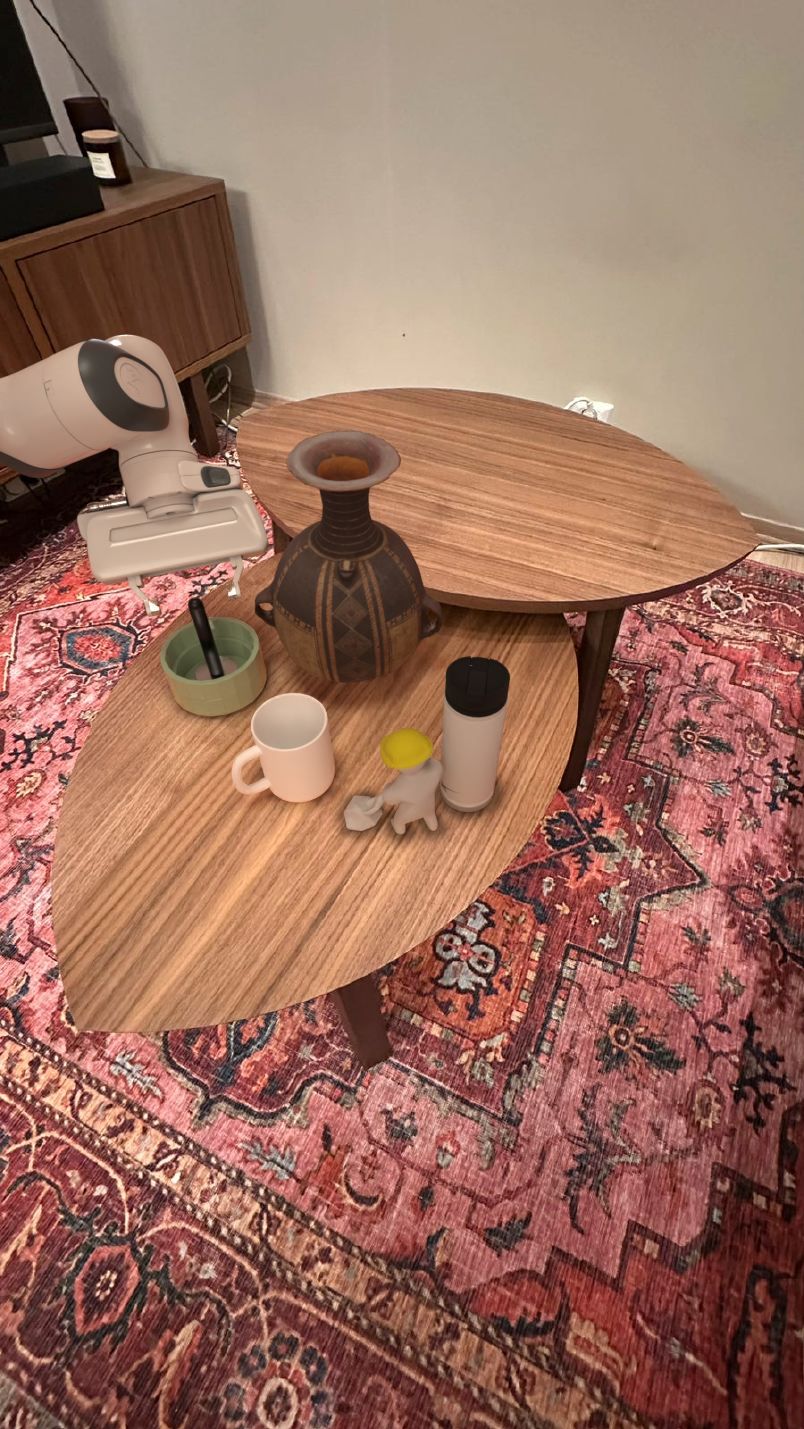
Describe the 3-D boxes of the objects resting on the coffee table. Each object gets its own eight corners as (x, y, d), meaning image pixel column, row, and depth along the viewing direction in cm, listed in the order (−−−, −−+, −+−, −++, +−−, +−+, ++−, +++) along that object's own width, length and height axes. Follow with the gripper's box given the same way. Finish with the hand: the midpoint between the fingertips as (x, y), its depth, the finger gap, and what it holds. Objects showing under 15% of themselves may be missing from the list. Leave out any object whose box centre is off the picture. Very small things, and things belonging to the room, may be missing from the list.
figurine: (399, 768, 82) (396, 681, 71) (453, 815, 78) (460, 731, 66) (333, 816, 78) (319, 733, 66) (387, 870, 73) (382, 790, 62)
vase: (248, 684, 92) (193, 480, 69) (314, 598, 103) (286, 398, 80) (406, 734, 86) (403, 528, 63) (458, 636, 97) (471, 432, 74)
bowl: (188, 732, 86) (174, 697, 81) (163, 670, 94) (149, 635, 89) (280, 697, 90) (272, 662, 85) (249, 641, 97) (240, 605, 92)
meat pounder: (205, 701, 89) (176, 620, 78) (193, 674, 92) (164, 592, 82) (246, 687, 90) (223, 605, 80) (232, 660, 94) (209, 578, 83)
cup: (349, 781, 81) (342, 726, 73) (260, 834, 76) (242, 781, 69) (312, 737, 85) (302, 681, 78) (226, 785, 81) (205, 731, 73)
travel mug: (436, 812, 78) (440, 693, 63) (443, 765, 82) (449, 644, 67) (490, 819, 77) (509, 701, 62) (495, 772, 81) (513, 651, 66)
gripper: (65, 498, 75) (98, 623, 76) (251, 466, 78) (280, 585, 80) (79, 512, 81) (110, 627, 82) (252, 482, 85) (279, 592, 86)
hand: (195, 606), depth 81 cm, fingers open, 8 cm apart
